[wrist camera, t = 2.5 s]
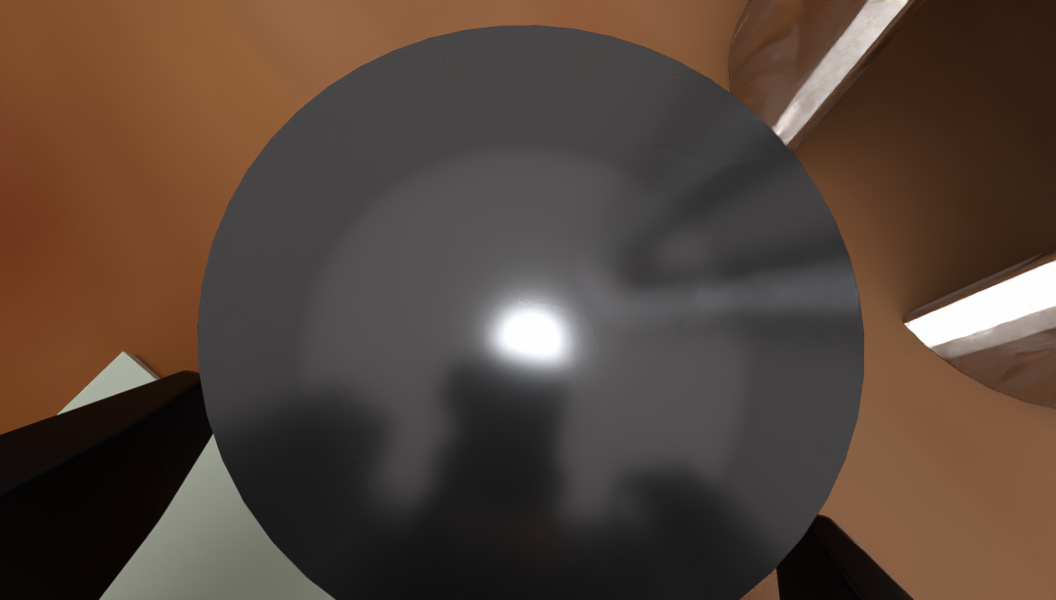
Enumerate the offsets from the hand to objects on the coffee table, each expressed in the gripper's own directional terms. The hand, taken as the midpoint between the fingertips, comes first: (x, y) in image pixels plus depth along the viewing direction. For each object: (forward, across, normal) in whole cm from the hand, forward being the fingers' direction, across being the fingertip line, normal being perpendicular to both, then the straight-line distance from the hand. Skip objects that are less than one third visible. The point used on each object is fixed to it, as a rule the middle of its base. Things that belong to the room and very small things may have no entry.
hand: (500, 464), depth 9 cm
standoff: (+7, 0, +6) cm, 9 cm away
